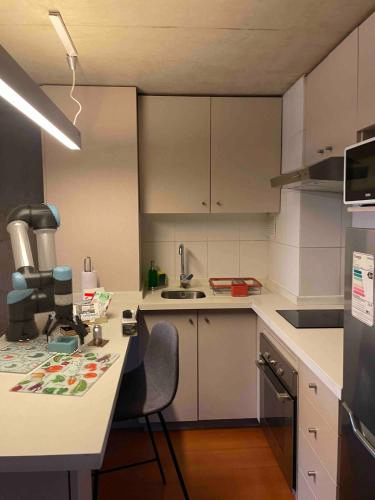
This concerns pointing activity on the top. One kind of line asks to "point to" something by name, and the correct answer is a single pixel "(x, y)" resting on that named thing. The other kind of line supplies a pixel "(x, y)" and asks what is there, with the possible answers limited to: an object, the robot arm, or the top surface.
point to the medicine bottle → (128, 323)
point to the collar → (64, 344)
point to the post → (97, 337)
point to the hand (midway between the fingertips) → (65, 351)
